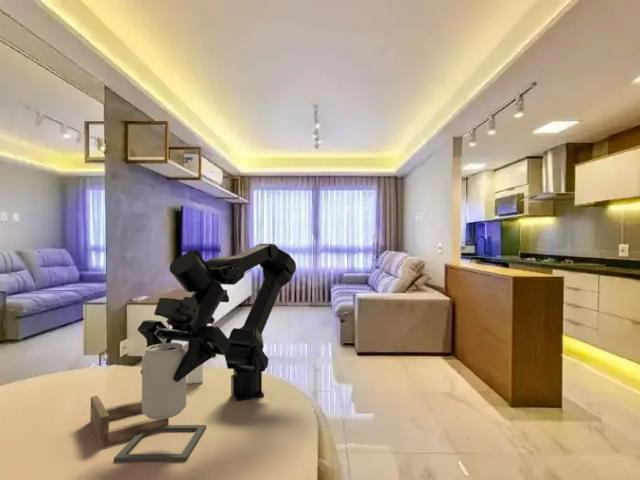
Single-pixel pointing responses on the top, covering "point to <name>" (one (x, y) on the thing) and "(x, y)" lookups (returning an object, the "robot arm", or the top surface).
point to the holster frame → (126, 457)
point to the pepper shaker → (196, 375)
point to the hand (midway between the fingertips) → (158, 377)
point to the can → (162, 381)
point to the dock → (103, 415)
